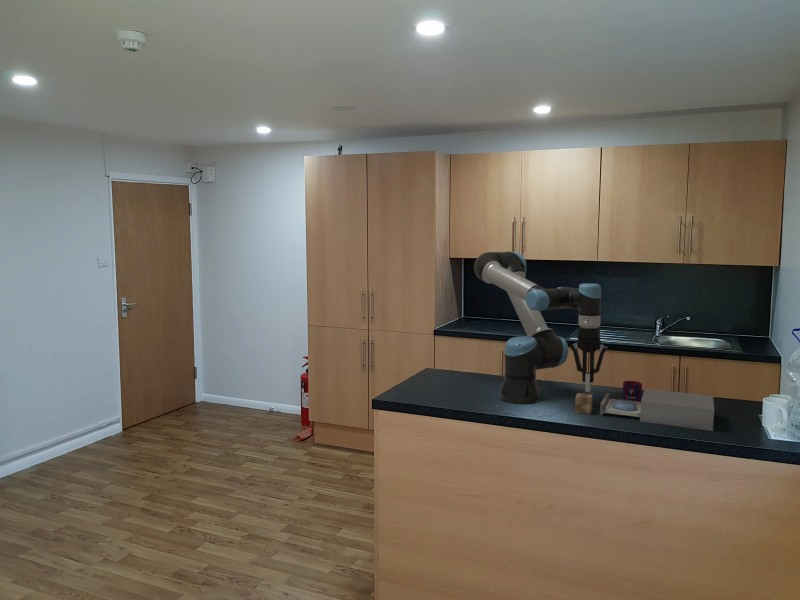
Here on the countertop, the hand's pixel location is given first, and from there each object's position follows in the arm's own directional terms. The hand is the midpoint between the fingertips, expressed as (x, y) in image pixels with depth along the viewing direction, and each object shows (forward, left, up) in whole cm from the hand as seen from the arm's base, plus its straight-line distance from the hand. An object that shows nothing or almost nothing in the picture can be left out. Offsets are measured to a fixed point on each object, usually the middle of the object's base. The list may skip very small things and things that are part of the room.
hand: (587, 390), depth 220 cm
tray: (+14, 0, -6) cm, 15 cm away
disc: (+13, 0, -5) cm, 14 cm away
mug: (+14, +19, -7) cm, 24 cm away
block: (0, -6, -6) cm, 9 cm away
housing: (+30, 0, -6) cm, 30 cm away
